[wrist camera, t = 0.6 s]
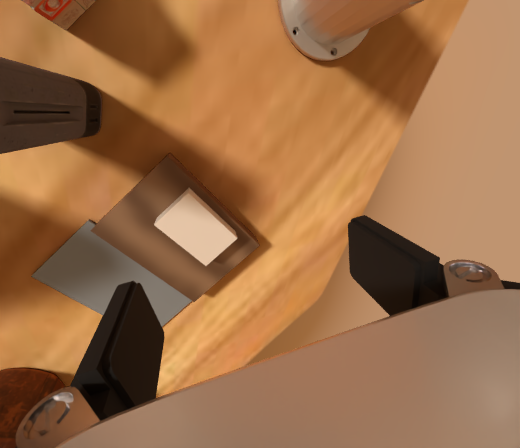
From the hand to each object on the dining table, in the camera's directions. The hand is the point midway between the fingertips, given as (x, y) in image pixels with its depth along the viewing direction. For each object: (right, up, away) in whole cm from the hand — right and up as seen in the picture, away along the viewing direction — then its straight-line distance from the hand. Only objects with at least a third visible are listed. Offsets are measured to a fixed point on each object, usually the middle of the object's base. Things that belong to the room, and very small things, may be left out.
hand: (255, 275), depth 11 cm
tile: (-8, +2, +23) cm, 24 cm away
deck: (-11, +1, +27) cm, 29 cm away
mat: (-22, -7, +28) cm, 36 cm away
